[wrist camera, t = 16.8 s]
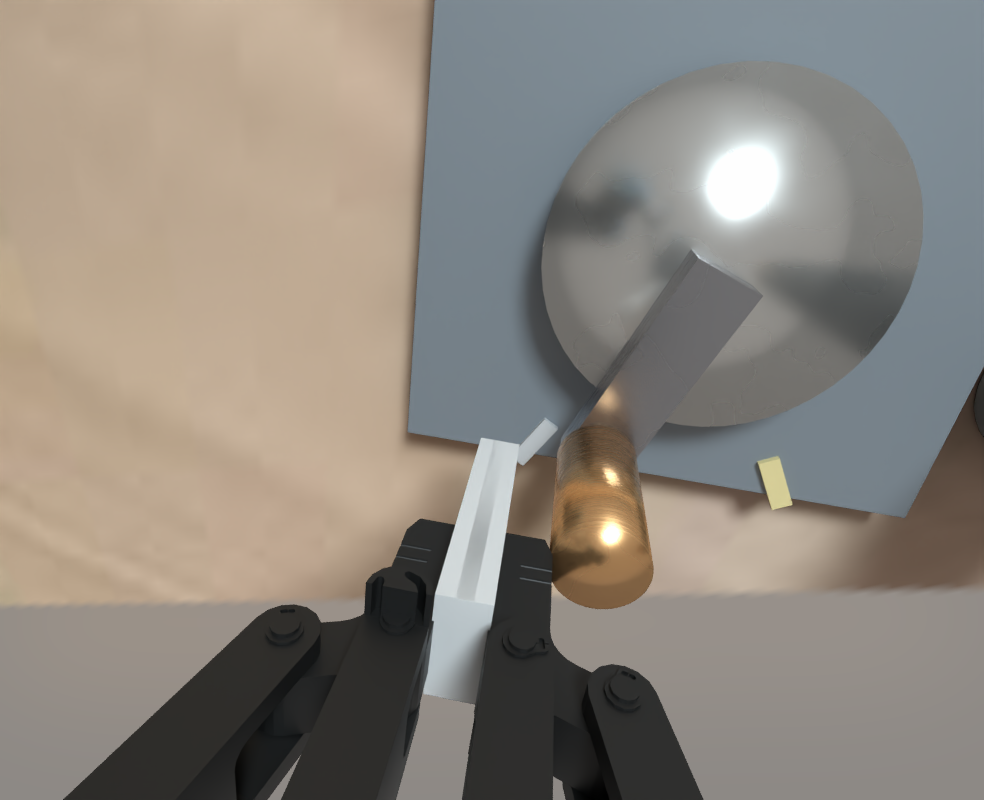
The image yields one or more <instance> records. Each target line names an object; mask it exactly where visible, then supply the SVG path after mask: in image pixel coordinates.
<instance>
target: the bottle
mask: <svg viewBox="0 0 984 800" xmlns="http://www.w3.org/2000/svg"><path fill="white" fill-rule="evenodd" d="M974 410H975V419H976V422H977V425H978V428H979V430H980V432H981V434H982V435H983V437H984V374H983V376H982V379H981V381H980V383H979V386H978V388H977V393H976V398H975V404H974Z"/></svg>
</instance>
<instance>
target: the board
mask: <svg viewBox="0 0 984 800" xmlns="http://www.w3.org/2000/svg"><path fill="white" fill-rule="evenodd" d="M743 61H772V62H781V63H787V64H793V65H799V66H804V67H807V68H810V69H813V70H816V71H819V72H822V73H824V74H827V75H830V76H832V77H834V78H835V79H837V80H839V81H841V82H843V83H845V84H847V85H849V86H851V87H852V88H854V89H855V90H856V91H858V92H859V93H860V94H862V95H863V96H864V97H866V98H867V99H868V100H870V101H871V102H872V103H873V104H874V105H875V106H876V107H877V108H878V109H879V110H880V111H881V112H882V113H883V114H884V115H885V117H886V118H887V119H888V120H889V121H890V122H891V123H892V125H893V126H894V128H895V130H896V131H897V133H898V134H899V136H900V137H901V139H902V140H903V142H904V143H905V145H906V148H907V150H908V152H909V154H910V157H911V159H912V161H913V163H914V166H915V169H916V173H917V177H918V181H919V185H920V188H921V195H922V205H923V215H924V217H923V237H922V245H921V250H920V256H919V261H918V266H917V269H916V272H915V275H914V278H913V281H912V284H911V287H910V290H909V292H908V294H907V296H906V298H905V300H904V302H903V305H902V307H901V309H900V311H899V313H898V314H897V316H896V318H895V319H894V321H893V322H892V324H891V325H890V327H889V329H888V330H887V332H886V333H885V335H884V336H883V337H882V338H881V340H880V341H879V342H878V343H877V344H876V346H875V347H874V348H873V349H872V351H871V352H870V353H869V354H868V355H867V356H866V357H865V358H864V359H863V360H862V361H861V362H860V363H859V364H858V365H857V366H856V367H855V368H854V369H853V370H852V371H851V372H849V373H848V374H847V375H846V376H844V377H843V378H842V379H841V380H839V381H838V382H837V383H835V384H834V385H833V386H832V387H830V388H828V389H827V390H825V391H824V392H822V393H820V394H819V395H817V396H816V397H814V398H812V399H811V400H809V401H807V402H805V403H803V404H800V405H798V406H796V407H794V408H792V409H790V410H788V411H785V412H782V413H779V414H777V415H774V416H771V417H768V418H765V419H760V420H756V421H752V422H748V423H743V424H736V425H728V426H711V427H699V426H687V425H678V424H673V423H669V422H665V423H664V424H663V425H662V427H661V428H660V429H659V431H658V432H657V433H656V434H655V436H654V437H653V438H652V440H651V441H650V442H649V443H648V445H647V446H646V447H645V449H644V450H643V451H642V452H641V454H640V455H639V456H638V458H637V465H638V471H639V472H641V473H647V474H653V475H659V476H665V477H670V478H676V479H682V480H688V481H693V482H699V483H705V484H711V485H717V486H722V487H728V488H734V489H740V490H746V491H751V492H757V493H763V494H767V496H768V500H769V503H770V507H771V509H772V510H774V509H778V508H782V507H786V506H791V505H792V501H791V498H792V499H798V500H803V501H809V502H815V503H821V504H827V505H832V506H838V507H844V508H850V509H856V510H861V511H867V512H873V513H879V514H884V515H890V516H896V517H902V518H905V517H906V515H907V513H908V512H909V510H910V508H911V506H912V504H913V502H914V500H915V498H916V496H917V494H918V492H919V490H920V488H921V486H922V485H923V483H924V481H925V479H926V477H927V475H928V473H929V471H930V469H931V467H932V465H933V463H934V461H935V459H936V458H937V456H938V454H939V452H940V450H941V448H942V446H943V444H944V442H945V440H946V438H947V436H948V434H949V432H950V431H951V429H952V427H953V425H954V423H955V421H956V419H957V417H958V415H959V413H960V411H961V409H962V407H963V406H964V404H965V402H966V400H967V398H968V396H969V394H970V392H971V390H972V388H973V386H974V384H975V382H976V380H977V379H978V377H979V375H980V373H981V371H982V369H983V367H984V0H435V5H434V21H433V37H432V52H431V68H430V84H429V100H428V116H427V132H426V148H425V164H424V180H423V196H422V212H421V228H420V244H419V259H418V275H417V291H416V307H415V323H414V339H413V355H412V371H411V387H410V403H409V419H408V432H410V433H416V434H421V435H427V436H433V437H439V438H445V439H450V440H456V441H462V442H468V443H474V444H479V443H480V440H481V438H486V439H492V440H498V441H503V442H508V443H514V444H520V445H519V451H518V458H517V462H518V463H520V464H521V465H522V466H524V464H525V463H526V462H527V461H528V460H529V459H530V458H531V457H532V456H533V455H534V454H537V455H543V456H549V457H555V458H557V453H558V449H559V447H560V445H561V437H562V436H563V434H564V433H565V431H566V430H567V428H568V427H569V426H570V424H571V423H572V421H573V420H574V418H575V417H576V415H577V414H578V412H579V411H580V410H581V408H582V407H583V405H584V404H585V402H586V401H587V399H588V398H589V397H590V395H591V394H592V392H593V391H594V389H595V388H596V387H595V386H594V385H592V384H591V383H590V382H589V381H588V380H587V379H586V378H585V377H584V376H583V375H582V373H581V372H580V371H579V370H578V369H577V368H576V367H575V366H574V364H573V363H572V361H571V360H570V358H569V357H568V356H567V354H566V353H565V351H564V350H563V348H562V346H561V344H560V342H559V340H558V338H557V336H556V334H555V332H554V330H553V327H552V324H551V321H550V318H549V315H548V312H547V308H546V303H545V298H544V293H543V285H542V270H541V265H542V250H543V242H544V236H545V231H546V226H547V221H548V218H549V215H550V212H551V209H552V206H553V203H554V200H555V197H556V194H557V192H558V190H559V188H560V186H561V183H562V181H563V179H564V177H565V175H566V173H567V171H568V169H569V168H570V166H571V165H572V163H573V161H574V160H575V158H576V157H577V155H578V154H579V152H580V150H581V149H582V148H583V147H584V146H585V144H586V143H587V142H588V141H589V139H590V138H591V137H592V136H593V135H594V133H595V132H596V131H597V130H598V129H599V128H600V127H601V126H602V125H603V124H604V123H605V122H607V121H608V120H609V119H610V118H611V117H612V116H613V115H614V114H615V113H616V112H618V111H619V110H620V109H622V108H623V107H624V106H626V105H627V104H628V103H630V102H631V101H632V100H634V99H635V98H637V97H639V96H640V95H642V94H644V93H646V92H648V91H649V90H651V89H653V88H655V87H656V86H658V85H660V84H663V83H665V82H667V81H670V80H672V79H675V78H677V77H680V76H682V75H685V74H687V73H689V72H692V71H696V70H700V69H704V68H707V67H711V66H715V65H719V64H727V63H735V62H743Z"/></svg>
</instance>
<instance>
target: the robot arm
mask: <svg viewBox="0 0 984 800" xmlns="http://www.w3.org/2000/svg"><path fill="white" fill-rule="evenodd" d="M519 445H520V444H514V443H508V442H503V441H498V440H492V439H486V438H481V440H480V443H479V447H478V450H477V453H476V457H475V460H474V464H473V467H472V470H471V474H470V477H469V481H468V484H467V487H466V491H465V494H464V498H463V501H462V504H461V508H460V511H459V514H458V518H457V521H456V525H453V524H447V523H442V522H436V521H431V520H425V519H419V520H418V521H417V522H415V523H414V524H413V525H412V526H411V527H409V528H408V529H407V531H406V533H405V536H404V538H403V540H402V543H401V546H400V548H399V550H398V552H397V555H396V558H395V560H394V562H393V565H392V567H388V568H383V569H381V570H379V571H378V572H376V573H374V574H372V576H371V577H370V578H369V579H368V581H367V582H366V593H365V611H364V614H363V615H361V616H359V617H356V618H354V619H351V620H345V621H338V622H326V623H325V622H324V623H321V622H320V620H319V618H318V616H317V614H316V613H314V612H313V611H311V610H310V609H308V608H307V607H303V606H298V605H281V606H278V607H275V608H272V609H269V610H267V611H265V612H264V613H263V614H261V615H260V616H258V617H257V618H256V619H255V620H254V621H252V622H251V623H250V624H249V625H248V626H247V627H246V628H245V629H244V630H243V631H242V632H241V633H240V634H239V635H238V636H237V637H235V639H233V640H232V641H231V642H230V643H229V644H228V645H227V646H226V647H225V648H224V649H223V650H222V651H221V652H220V653H219V654H217V655H216V656H215V657H214V658H213V659H212V660H211V661H210V662H209V663H208V664H207V665H206V666H205V667H204V668H203V669H201V670H200V671H199V672H198V673H197V674H196V675H195V676H194V677H193V678H192V679H191V680H190V681H189V682H188V683H187V684H186V685H184V686H183V687H182V688H181V689H180V690H179V691H178V692H177V693H176V694H175V695H174V696H173V697H172V698H171V699H170V700H169V701H168V702H166V703H165V704H164V705H163V706H162V707H161V708H160V709H159V710H158V711H157V712H156V713H155V714H154V715H153V716H151V718H149V719H148V720H147V721H146V722H145V723H144V724H143V725H142V726H141V727H140V728H139V729H138V730H137V731H136V732H134V734H132V735H131V736H130V737H129V738H128V739H127V740H126V741H125V742H124V743H123V744H122V745H121V746H120V747H119V748H118V749H116V750H115V751H114V752H113V753H112V754H111V755H110V756H109V757H108V758H107V759H106V760H105V761H104V762H103V763H102V764H100V765H99V766H98V767H97V768H96V769H95V770H94V771H93V772H92V773H91V774H90V775H89V776H88V777H87V778H86V779H85V780H83V781H82V782H81V783H80V784H79V785H78V786H77V787H76V788H75V789H74V790H73V791H72V792H71V793H70V794H69V795H68V796H66V797H65V798H64V799H63V800H267V799H268V798H269V797H270V795H271V794H272V793H273V791H274V790H275V789H276V787H277V786H278V785H279V783H280V782H281V781H282V779H283V778H284V777H285V775H286V774H287V773H288V771H289V770H290V768H291V767H292V766H293V764H294V763H295V762H296V760H297V759H298V758H299V756H300V755H301V756H300V759H299V761H298V763H297V765H296V768H295V770H294V772H293V774H292V777H291V779H290V781H289V783H288V785H287V788H286V790H285V792H284V794H283V797H282V799H281V800H396V797H397V794H398V790H399V787H400V783H401V779H402V776H403V772H404V768H405V765H406V761H407V757H408V754H409V750H410V747H411V743H412V739H413V736H414V732H415V728H416V725H417V721H418V716H419V708H420V700H421V697H422V693H423V694H426V695H432V696H437V697H442V698H445V699H450V700H455V701H460V702H465V703H470V704H475V710H474V714H475V715H474V723H473V729H472V735H471V740H470V746H469V752H468V754H469V756H468V762H467V769H466V776H465V783H464V789H463V796H462V800H553V776H554V777H555V778H557V779H559V780H561V781H562V782H563V790H564V794H565V799H566V800H703V798H702V795H701V793H700V791H699V789H698V786H697V784H696V782H695V779H694V778H693V775H692V773H691V770H690V768H689V766H688V763H687V761H686V759H685V757H684V754H683V752H682V750H681V747H680V745H679V743H678V741H677V738H676V736H675V734H674V732H673V729H672V727H671V725H670V722H669V720H668V718H667V716H666V713H665V711H664V709H663V706H662V704H661V702H660V700H659V697H658V695H657V693H656V691H655V690H654V688H653V687H652V685H651V684H650V682H649V681H648V680H647V679H645V678H644V677H643V676H642V675H640V674H639V673H638V672H636V671H634V670H632V669H630V668H628V667H625V666H620V665H613V664H611V665H606V666H601V667H599V668H598V669H596V670H595V671H594V672H592V673H591V672H589V671H587V670H585V669H583V668H581V667H579V666H577V665H575V664H574V663H572V662H570V661H569V660H567V659H566V658H565V657H564V656H563V655H562V654H561V653H560V652H559V651H558V650H557V648H556V647H555V646H554V644H553V641H552V639H551V634H550V614H551V587H552V585H551V583H552V559H553V554H552V553H551V551H550V549H549V547H548V545H547V543H546V541H545V540H542V539H537V538H531V537H525V536H520V535H514V534H509V533H506V528H507V522H508V515H509V509H510V503H511V496H512V490H513V483H514V477H515V471H516V464H517V458H518V451H519ZM423 689H424V692H423Z"/></svg>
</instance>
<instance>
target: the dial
mask: <svg viewBox="0 0 984 800" xmlns="http://www.w3.org/2000/svg"><path fill="white" fill-rule="evenodd" d="M923 217H924V215H923V205H922V195H921V188H920V185H919V181H918V177H917V173H916V169H915V166H914V163H913V161H912V159H911V157H910V154H909V152H908V150H907V148H906V145H905V143H904V142H903V140H902V139H901V137H900V136H899V134H898V133H897V131H896V130H895V128H894V126H893V125H892V123H891V122H890V121H889V120H888V119H887V118H886V117H885V115H884V114H883V113H882V112H881V111H880V110H879V109H878V108H877V107H876V106H875V105H874V104H873V103H872V102H871V101H870V100H868V99H867V98H866V97H864V96H863V95H862V94H860V93H859V92H858V91H856V90H855V89H854V88H852V87H851V86H849V85H847V84H845V83H843V82H841V81H839V80H837V79H835V78H834V77H832V76H830V75H827V74H824V73H822V72H819V71H816V70H813V69H810V68H807V67H804V66H799V65H793V64H787V63H781V62H772V61H743V62H735V63H727V64H719V65H715V66H711V67H707V68H704V69H700V70H696V71H692V72H689V73H687V74H685V75H682V76H680V77H677V78H675V79H672V80H670V81H667V82H665V83H663V84H660V85H658V86H656V87H655V88H653V89H651V90H649V91H648V92H646V93H644V94H642V95H640V96H639V97H637V98H635V99H634V100H632V101H631V102H630V103H628V104H627V105H626V106H624V107H623V108H622V109H620V110H619V111H618V112H616V113H615V114H614V115H613V116H612V117H611V118H610V119H609V120H608V121H607V122H605V123H604V124H603V125H602V126H601V127H600V128H599V129H598V130H597V131H596V132H595V133H594V135H593V136H592V137H591V138H590V139H589V141H588V142H587V143H586V144H585V146H584V147H583V148H582V149H581V150H580V152H579V154H578V155H577V157H576V158H575V160H574V161H573V163H572V165H571V166H570V168H569V169H568V171H567V173H566V175H565V177H564V179H563V181H562V183H561V186H560V188H559V190H558V192H557V194H556V197H555V200H554V203H553V206H552V209H551V212H550V215H549V218H548V221H547V226H546V231H545V236H544V242H543V250H542V265H541V270H542V285H543V293H544V298H545V303H546V308H547V312H548V315H549V318H550V321H551V324H552V327H553V330H554V332H555V334H556V336H557V338H558V340H559V342H560V344H561V346H562V348H563V350H564V351H565V353H566V354H567V356H568V357H569V358H570V360H571V361H572V363H573V364H574V366H575V367H576V368H577V369H578V370H579V371H580V372H581V373H582V375H583V376H584V377H585V378H586V379H587V380H588V381H589V382H590V383H591V384H592V385H594V386H595V387H596V388H595V389H594V391H593V392H592V394H591V395H590V397H589V398H588V399H587V401H586V402H585V404H584V405H583V407H582V408H581V410H580V411H579V412H578V414H577V415H576V417H575V418H574V420H573V421H572V423H571V424H570V426H569V427H568V428H567V430H566V431H565V433H564V434H563V436H562V437H561V445H560V447H559V449H558V453H557V464H556V477H555V490H554V503H553V515H552V528H551V541H550V551H551V553H552V554H553V559H552V582H553V584H554V586H555V587H556V588H557V590H558V591H559V592H560V593H561V594H562V595H563V596H565V597H566V598H567V599H569V600H571V601H573V602H574V603H577V604H579V605H582V606H585V607H589V608H595V609H612V608H618V607H621V606H625V605H627V604H629V603H631V602H633V601H635V600H636V599H638V598H639V597H640V596H642V595H643V594H644V593H645V591H646V590H647V589H648V587H649V585H650V584H651V581H652V578H653V561H652V555H651V548H650V542H649V536H648V529H647V523H646V516H645V510H644V503H643V497H642V490H641V484H640V478H639V471H638V465H637V458H638V456H639V455H640V454H641V452H642V451H643V450H644V449H645V447H646V446H647V445H648V443H649V442H650V441H651V440H652V438H653V437H654V436H655V434H656V433H657V432H658V431H659V429H660V428H661V427H662V425H663V424H664V423H665V422H669V423H673V424H678V425H687V426H699V427H711V426H728V425H736V424H743V423H748V422H752V421H756V420H760V419H765V418H768V417H771V416H774V415H777V414H779V413H782V412H785V411H788V410H790V409H792V408H794V407H796V406H798V405H800V404H803V403H805V402H807V401H809V400H811V399H812V398H814V397H816V396H817V395H819V394H820V393H822V392H824V391H825V390H827V389H828V388H830V387H832V386H833V385H834V384H835V383H837V382H838V381H839V380H841V379H842V378H843V377H844V376H846V375H847V374H848V373H849V372H851V371H852V370H853V369H854V368H855V367H856V366H857V365H858V364H859V363H860V362H861V361H862V360H863V359H864V358H865V357H866V356H867V355H868V354H869V353H870V352H871V351H872V349H873V348H874V347H875V346H876V344H877V343H878V342H879V341H880V340H881V338H882V337H883V336H884V335H885V333H886V332H887V330H888V329H889V327H890V325H891V324H892V322H893V321H894V319H895V318H896V316H897V314H898V313H899V311H900V309H901V307H902V305H903V302H904V300H905V298H906V296H907V294H908V292H909V290H910V287H911V284H912V281H913V278H914V275H915V272H916V269H917V266H918V261H919V256H920V250H921V245H922V237H923Z"/></svg>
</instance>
